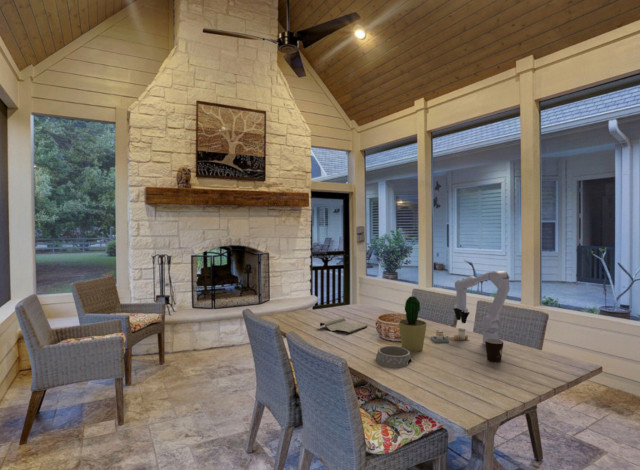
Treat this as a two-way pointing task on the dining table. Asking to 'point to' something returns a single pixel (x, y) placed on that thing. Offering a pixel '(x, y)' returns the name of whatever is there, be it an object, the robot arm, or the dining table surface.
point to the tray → (440, 340)
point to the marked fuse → (439, 335)
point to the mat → (342, 325)
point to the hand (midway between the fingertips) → (461, 321)
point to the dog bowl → (393, 356)
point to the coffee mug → (494, 350)
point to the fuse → (461, 334)
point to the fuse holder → (457, 338)
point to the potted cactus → (412, 326)
